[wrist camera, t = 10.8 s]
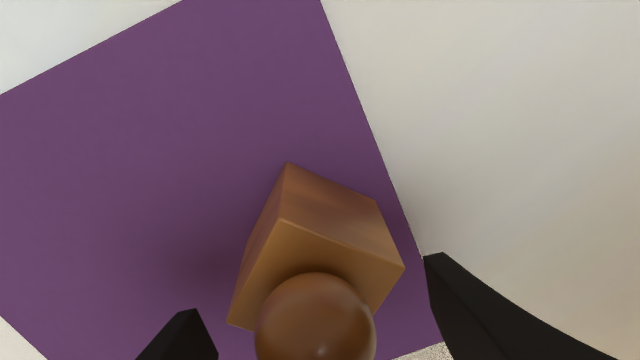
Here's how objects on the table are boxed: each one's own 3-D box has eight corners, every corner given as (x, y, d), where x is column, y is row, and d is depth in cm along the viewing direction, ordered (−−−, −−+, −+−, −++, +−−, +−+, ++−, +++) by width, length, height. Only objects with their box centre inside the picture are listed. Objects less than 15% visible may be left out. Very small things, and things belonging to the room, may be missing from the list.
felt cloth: (450, 333, 19) (452, 338, 19) (144, 442, 21) (142, 447, 21) (296, -58, 12) (296, -60, 12) (-145, 171, 14) (-153, 174, 14)
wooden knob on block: (375, 200, 15) (446, 356, 8) (331, 273, 17) (354, 465, 9) (286, 159, 14) (268, 293, 7) (246, 241, 16) (196, 425, 8)
